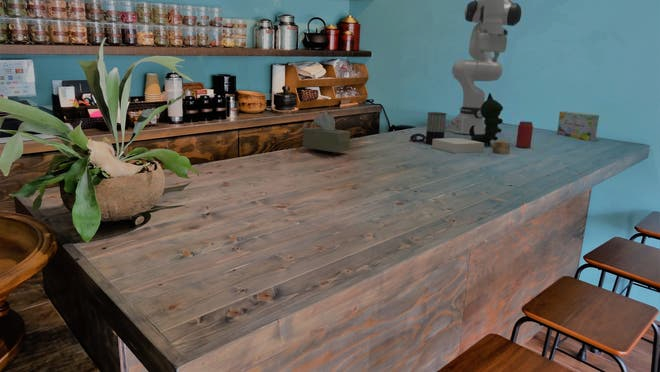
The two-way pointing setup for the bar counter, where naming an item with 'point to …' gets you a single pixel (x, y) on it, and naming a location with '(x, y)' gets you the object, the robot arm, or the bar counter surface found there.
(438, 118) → the milk frother
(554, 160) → the bar counter surface
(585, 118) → the snack box
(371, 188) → the bar counter surface
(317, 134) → the tissue box
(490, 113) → the toy figurine
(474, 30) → the robot arm
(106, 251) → the bar counter surface
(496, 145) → the block
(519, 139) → the beer can
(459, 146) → the cream base
